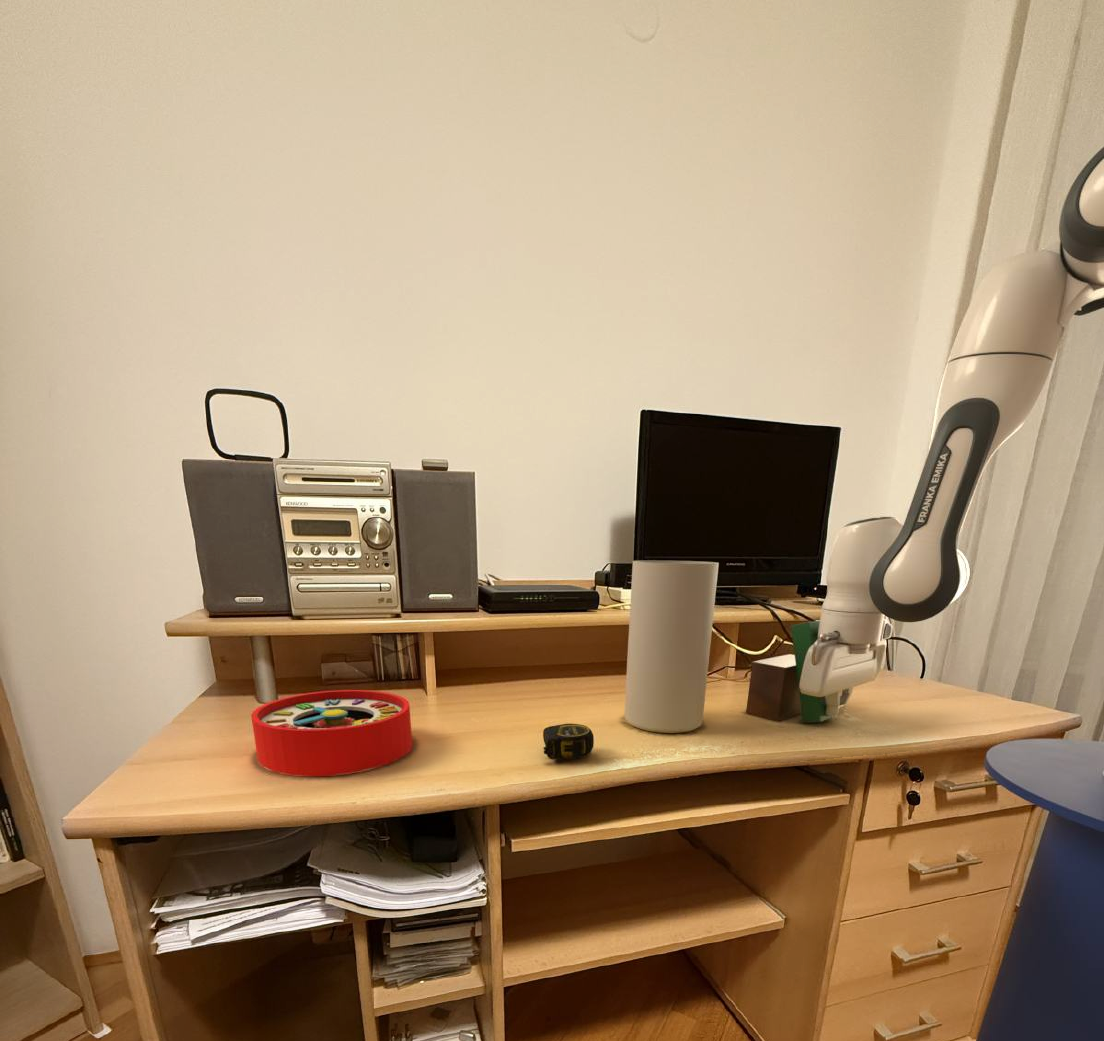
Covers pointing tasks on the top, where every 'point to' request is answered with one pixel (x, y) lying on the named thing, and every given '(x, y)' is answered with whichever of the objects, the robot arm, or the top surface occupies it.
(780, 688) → the block
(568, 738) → the tape measure
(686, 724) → the cylinder vase
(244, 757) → the top surface
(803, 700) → the block
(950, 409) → the robot arm
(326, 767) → the toy clock
